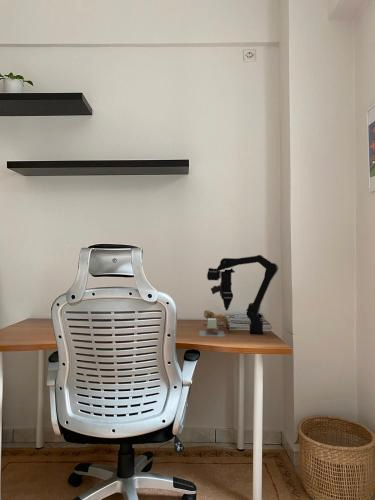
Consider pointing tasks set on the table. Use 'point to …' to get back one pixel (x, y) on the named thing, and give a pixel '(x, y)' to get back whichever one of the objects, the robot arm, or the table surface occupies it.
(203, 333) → the slate pad
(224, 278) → the robot arm
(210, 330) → the walnut block
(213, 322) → the sage cube
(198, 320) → the table surface
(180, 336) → the table surface
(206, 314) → the lion figurine
